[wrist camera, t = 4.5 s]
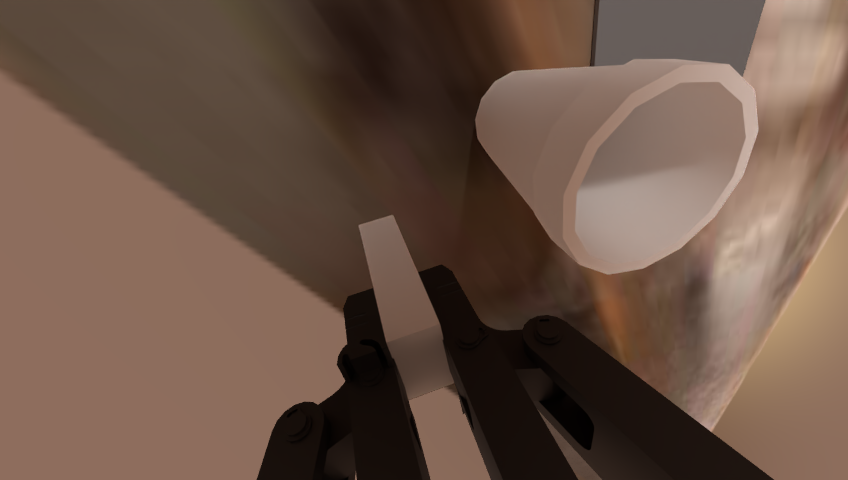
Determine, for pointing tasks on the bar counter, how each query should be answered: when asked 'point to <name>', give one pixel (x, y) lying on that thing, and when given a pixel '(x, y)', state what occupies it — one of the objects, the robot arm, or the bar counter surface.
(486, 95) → the foam cup
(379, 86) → the bar counter surface
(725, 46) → the mat
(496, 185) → the bar counter surface
